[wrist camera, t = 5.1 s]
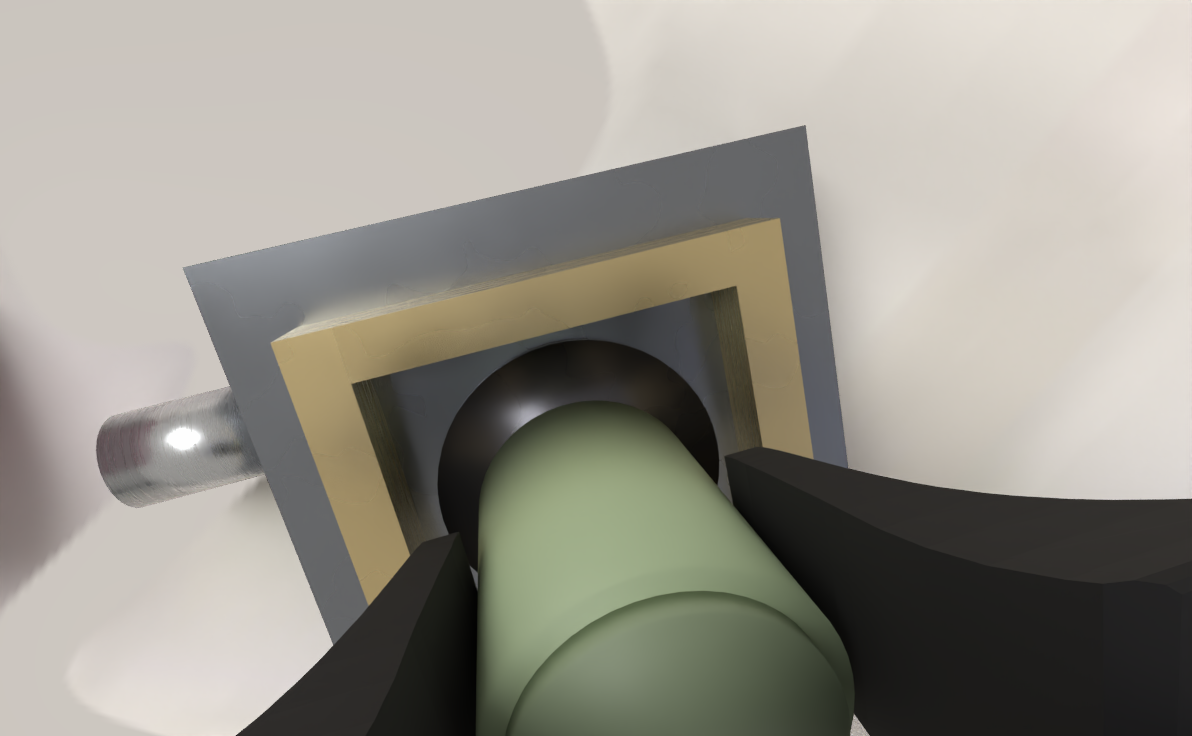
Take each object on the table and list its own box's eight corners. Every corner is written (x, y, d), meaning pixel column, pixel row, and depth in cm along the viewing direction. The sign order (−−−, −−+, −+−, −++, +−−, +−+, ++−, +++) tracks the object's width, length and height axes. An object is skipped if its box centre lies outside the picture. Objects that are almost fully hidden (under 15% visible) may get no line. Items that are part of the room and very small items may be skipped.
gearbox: (745, 142, 15) (847, 112, 11) (808, 562, 18) (906, 667, 14) (105, 289, 14) (-70, 322, 9) (294, 722, 17) (228, 895, 13)
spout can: (669, 371, 13) (938, 614, 5) (715, 562, 14) (979, 971, 7) (448, 440, 12) (393, 811, 5) (515, 629, 14) (556, 1151, 6)
